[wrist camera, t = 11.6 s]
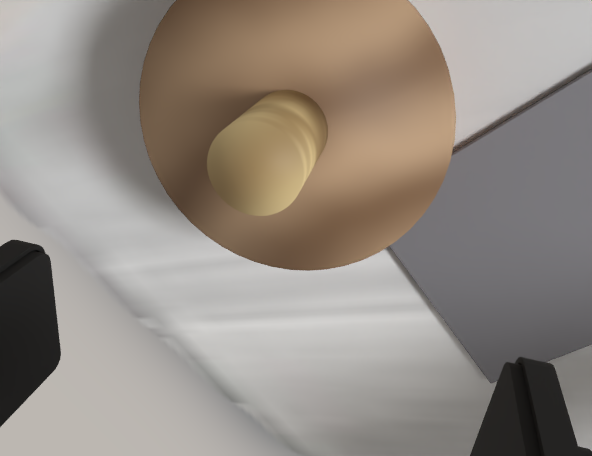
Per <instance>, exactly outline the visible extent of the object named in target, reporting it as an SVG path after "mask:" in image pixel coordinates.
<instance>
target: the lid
mask: <svg viewBox="0 0 592 456" xmlns="http://www.w3.org/2000/svg"><path fill="white" fill-rule="evenodd" d="M139 107H140V121H141V127H142V132H143V137H144V142H145V145H146V148H147V152H148V155H149V158H150V161H151V163H152V165H153V167H154V170H155V172H156V174H157V176H158V178H159V180H160V182H161V184H162V185H163V187H164V189H165V190H166V192H167V194H168V195H169V197H170V198H171V199H172V201H173V202H174V203H175V205H176V206H177V207H178V209H179V210H180V211H181V212H182V213H183V214H184V215H185V216H186V217H187V218H188V220H189V221H190V222H191V223H192V224H193V225H195V226H196V227H197V228H198V229H199V230H200V231H202V232H203V233H204V234H205V235H206V236H208V237H209V238H211V239H212V240H213V241H215V242H216V243H218V244H219V245H221V246H222V247H224V248H226V249H228V250H230V251H232V252H233V253H235V254H237V255H239V256H242V257H244V258H247V259H249V260H252V261H254V262H257V263H261V264H264V265H268V266H271V267H277V268H283V269H289V270H323V269H330V268H336V267H341V266H345V265H349V264H352V263H355V262H358V261H361V260H363V259H366V258H368V257H370V256H372V255H374V254H376V253H378V252H380V251H382V250H383V249H385V248H386V247H388V246H390V245H391V244H393V243H394V242H396V241H397V240H398V239H399V238H400V237H402V236H403V235H404V234H405V233H406V232H408V231H409V230H410V229H411V228H412V227H413V226H414V224H415V223H416V222H417V221H418V220H419V219H420V218H421V217H422V216H423V214H424V213H425V212H426V210H427V209H428V207H429V206H430V204H431V203H432V201H433V200H434V198H435V196H436V195H437V193H438V191H439V189H440V187H441V185H442V183H443V181H444V178H445V175H446V172H447V169H448V166H449V163H450V160H451V155H452V150H453V145H454V140H455V124H456V113H455V101H454V92H453V88H452V83H451V79H450V74H449V70H448V66H447V64H446V61H445V58H444V56H443V53H442V50H441V48H440V46H439V44H438V42H437V40H436V38H435V36H434V35H433V33H432V31H431V29H430V27H429V26H428V24H427V23H426V22H425V20H424V19H423V18H422V16H421V15H420V13H419V12H418V11H417V9H416V8H415V7H414V6H413V5H412V4H411V3H410V2H409V1H408V0H176V1H175V2H174V3H173V5H172V6H171V7H170V8H169V10H168V11H167V13H166V14H165V16H164V17H163V19H162V20H161V22H160V23H159V25H158V27H157V29H156V32H155V34H154V36H153V38H152V40H151V42H150V45H149V48H148V51H147V54H146V57H145V60H144V64H143V70H142V75H141V81H140V96H139Z"/></svg>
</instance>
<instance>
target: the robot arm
mask: <svg viewBox="0 0 592 456" xmlns="http://www.w3.org/2000/svg"><path fill="white" fill-rule="evenodd" d="M60 356H61V351H60V343H59V333H58V324H57V315H56V306H55V297H54V287H53V279H52V270H51V261H50V257H49V256H48V255H47V254H45V251H44V249H43V248H42V247H41V246H39V245H36V244H32V243H28V242H23V241H19V240H11V241H9V242H7V243H5V244H3V245H2V246H0V427H1V426H2V425H3V424H4V422H5V421H6V420H7V419H8V418H9V417H10V416H11V415H12V414H13V413H14V412H15V411H16V410H17V409H18V408H19V407H20V406H21V405H22V404H23V403H24V402H25V401H26V399H27V398H28V397H29V396H30V395H31V394H32V393H33V392H34V391H35V390H36V389H37V388H38V387H39V386H40V385H41V384H42V383H43V381H45V379H47V377H48V376H49V375H50V374H51V373H52V372H53V371H54V370H55V369H56V367H57V365H58V363H59V360H60ZM470 456H592V451H591V450H590V449H586V448H582V447H578V445H577V442H576V438H575V435H574V432H573V428H572V425H571V421H570V418H569V415H568V411H567V408H566V405H565V401H564V398H563V394H562V391H561V388H560V384H559V381H558V378H557V374H556V371H555V368H554V366H553V365H552V364H550V363H546V362H542V361H537V360H533V359H529V358H524V357H518V359H517V360H516V362H515V363H511V362H506V363H505V364H504V366H503V368H502V371H501V374H500V376H499V379H498V382H497V385H496V387H495V390H494V393H493V395H492V398H491V401H490V403H489V406H488V409H487V411H486V414H485V417H484V420H483V422H482V425H481V428H480V430H479V433H478V436H477V438H476V441H475V444H474V446H473V449H472V452H471V455H470Z"/></svg>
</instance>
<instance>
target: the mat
mask: <svg viewBox="0 0 592 456" xmlns="http://www.w3.org/2000/svg"><path fill="white" fill-rule="evenodd" d="M390 247H391V249H392V250H393V252H394V253H395V254H396V256H397V257H398V258H399V260H400V261H401V262H402V264H403V265H404V266H405V268H406V269H407V271H408V272H409V273H410V275H411V276H412V277H413V279H414V280H415V281H416V283H417V284H418V285H419V287H420V288H421V289H422V291H423V292H424V294H425V295H426V296H427V298H428V299H429V300H430V302H431V303H432V304H433V306H434V307H435V308H436V310H437V311H438V312H439V314H440V315H441V317H442V318H443V319H444V321H445V322H446V323H447V325H448V326H449V327H450V329H451V330H452V331H453V333H454V334H455V336H456V337H457V338H458V340H459V341H460V342H461V344H462V345H463V346H464V348H465V349H466V350H467V352H468V353H469V354H470V356H471V357H472V359H473V360H474V361H475V363H476V364H477V365H478V367H479V368H480V369H481V371H482V372H483V373H484V375H485V376H486V377H487V379H488V380H489V382H490V383H493V382H496V381H498V379H499V376H500V374H501V371H502V368H503V366H504V364H505V363H506V362H511V363H515V362H516V360H517V359H518V357H524V358H529V359H533V360H537V361H542V362H547V361H550V360H552V359H555V358H558V357H560V356H563V355H565V354H568V353H571V352H573V351H576V350H578V349H581V348H583V347H586V346H589V345H591V344H592V69H591V70H589V71H587V72H586V73H584V74H582V75H581V76H579V77H578V78H576V79H574V80H573V81H571V82H569V83H568V84H566V85H564V86H563V87H561V88H559V89H558V90H556V91H554V92H553V93H551V94H549V95H548V96H546V97H544V98H543V99H541V100H539V101H538V102H536V103H534V104H533V105H531V106H529V107H528V108H526V109H524V110H523V111H521V112H519V113H518V114H516V115H514V116H513V117H511V118H509V119H508V120H506V121H504V122H503V123H501V124H500V125H498V126H496V127H495V128H493V129H491V130H490V131H488V132H486V133H485V134H483V135H481V136H480V137H478V138H476V139H475V140H473V141H471V142H470V143H468V144H466V145H465V146H463V147H461V148H460V149H458V150H456V151H455V152H453V153H452V155H451V160H450V163H449V166H448V169H447V172H446V175H445V178H444V181H443V183H442V185H441V187H440V189H439V191H438V193H437V195H436V196H435V198H434V200H433V201H432V203H431V204H430V206H429V207H428V209H427V210H426V212H425V213H424V214H423V216H422V217H421V218H420V219H419V220H418V221H417V222H416V223H415V224H414V226H413V227H412V228H411V229H410V230H409V231H408V232H406V233H405V234H404V235H403V236H402V237H400V238H399V239H398V240H397V241H396V242H394V243H393V244H391V245H390Z"/></svg>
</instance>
